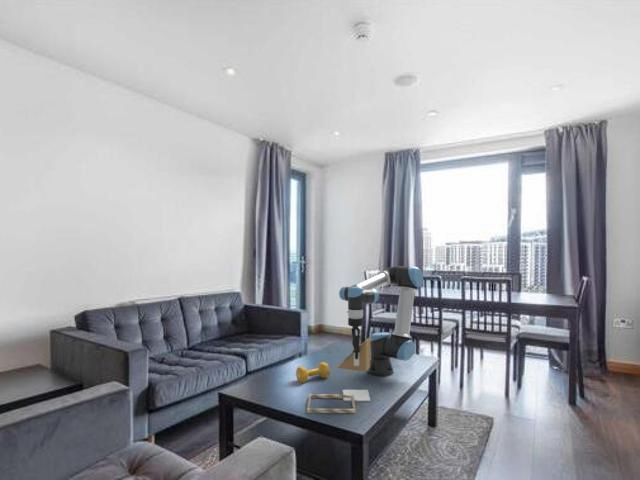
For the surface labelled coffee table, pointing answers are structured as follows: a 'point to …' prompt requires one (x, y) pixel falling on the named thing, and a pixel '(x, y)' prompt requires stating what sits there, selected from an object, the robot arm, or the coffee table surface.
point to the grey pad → (357, 395)
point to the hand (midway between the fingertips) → (355, 362)
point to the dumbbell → (312, 372)
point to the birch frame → (319, 410)
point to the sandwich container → (363, 358)
